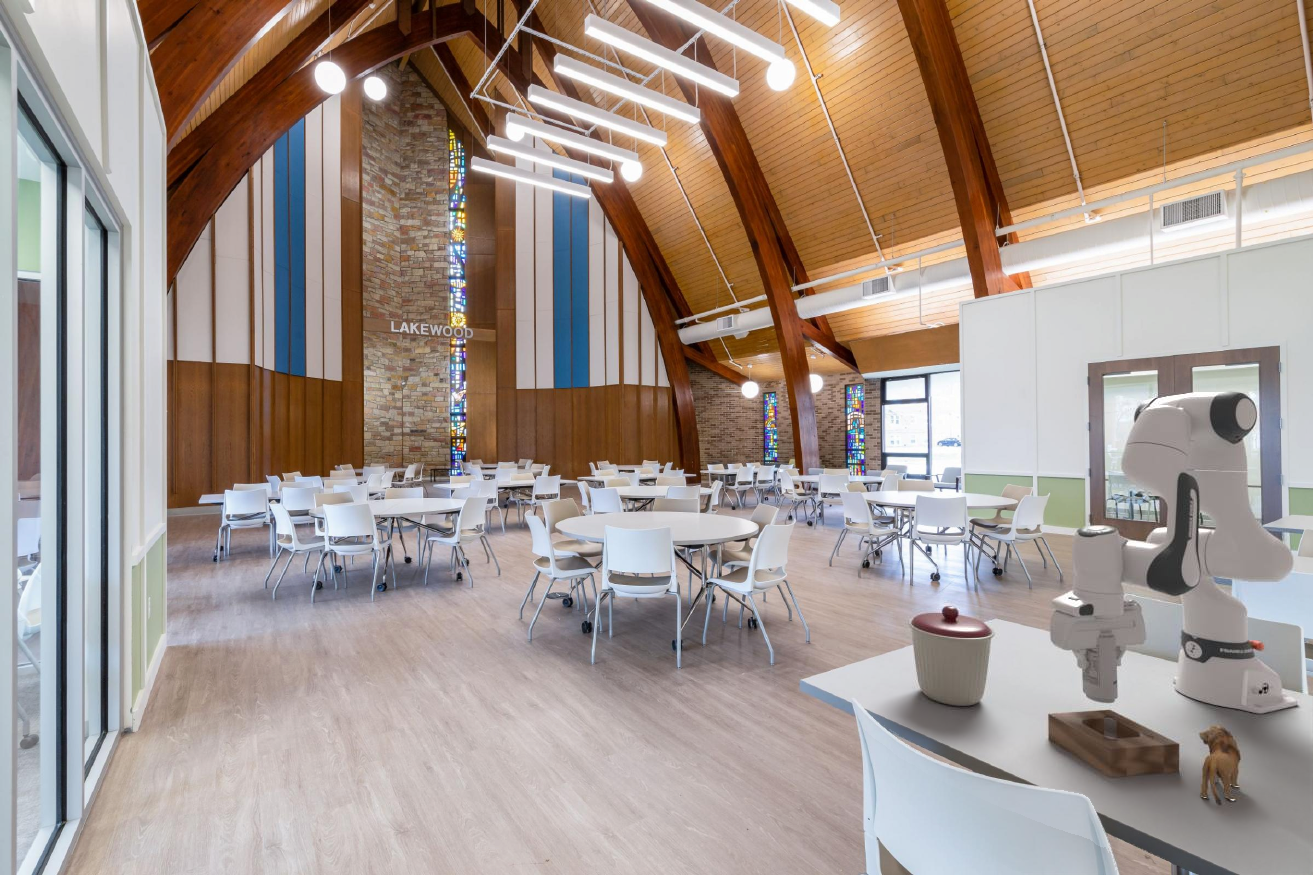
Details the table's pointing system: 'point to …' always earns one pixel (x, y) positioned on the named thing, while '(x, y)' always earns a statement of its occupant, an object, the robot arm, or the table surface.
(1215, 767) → the lion figurine
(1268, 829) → the table surface
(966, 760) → the table surface
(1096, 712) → the block
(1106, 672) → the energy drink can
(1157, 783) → the table surface
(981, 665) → the canister
